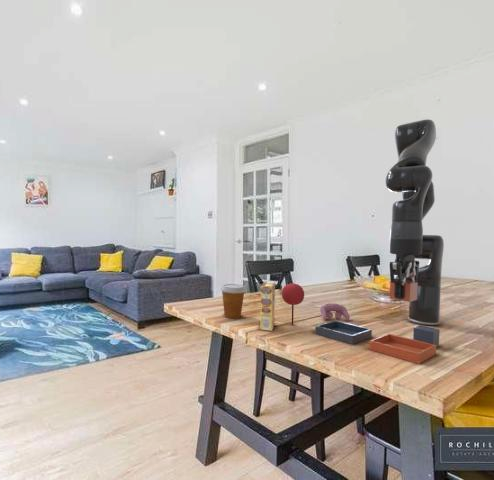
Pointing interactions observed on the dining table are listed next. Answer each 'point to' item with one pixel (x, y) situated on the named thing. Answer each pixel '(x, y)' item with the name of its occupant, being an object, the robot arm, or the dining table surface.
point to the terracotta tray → (403, 348)
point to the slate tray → (343, 332)
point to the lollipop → (293, 295)
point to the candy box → (267, 306)
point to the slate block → (426, 335)
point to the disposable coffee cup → (233, 299)
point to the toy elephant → (337, 308)
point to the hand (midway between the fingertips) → (403, 297)
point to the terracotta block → (406, 291)
